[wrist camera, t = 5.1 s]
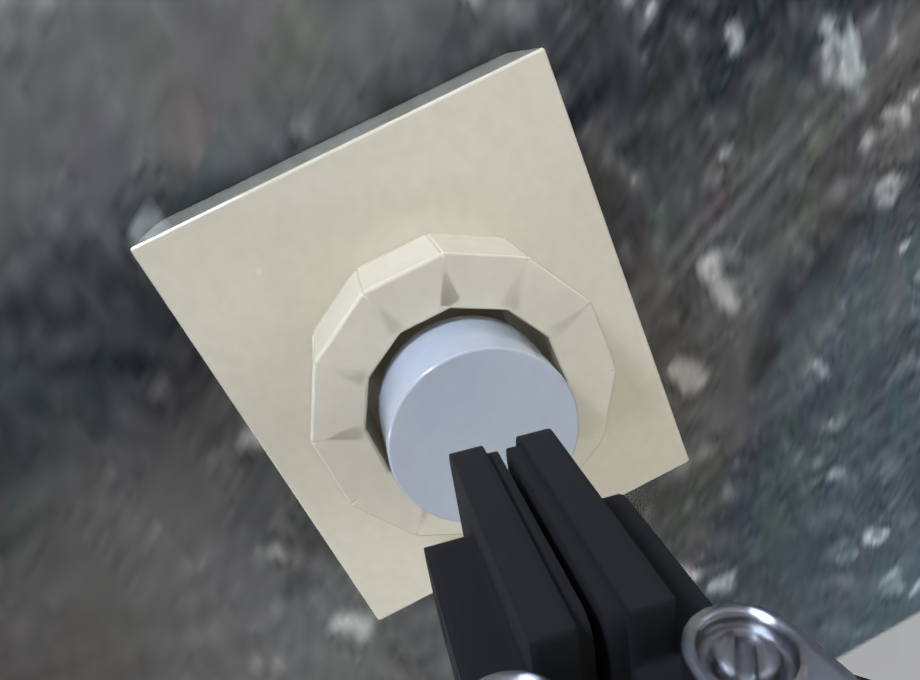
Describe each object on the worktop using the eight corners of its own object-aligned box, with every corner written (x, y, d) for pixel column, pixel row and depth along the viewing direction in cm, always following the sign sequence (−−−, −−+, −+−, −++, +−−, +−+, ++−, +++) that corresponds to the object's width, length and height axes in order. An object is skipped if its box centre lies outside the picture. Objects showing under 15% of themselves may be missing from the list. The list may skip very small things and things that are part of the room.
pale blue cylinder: (345, 365, 15) (351, 406, 13) (509, 283, 15) (539, 312, 13) (423, 501, 16) (438, 554, 15) (571, 425, 17) (605, 469, 15)
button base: (155, 223, 17) (102, 272, 13) (507, 51, 18) (578, 40, 13) (369, 555, 22) (386, 678, 18) (643, 415, 22) (730, 500, 18)
